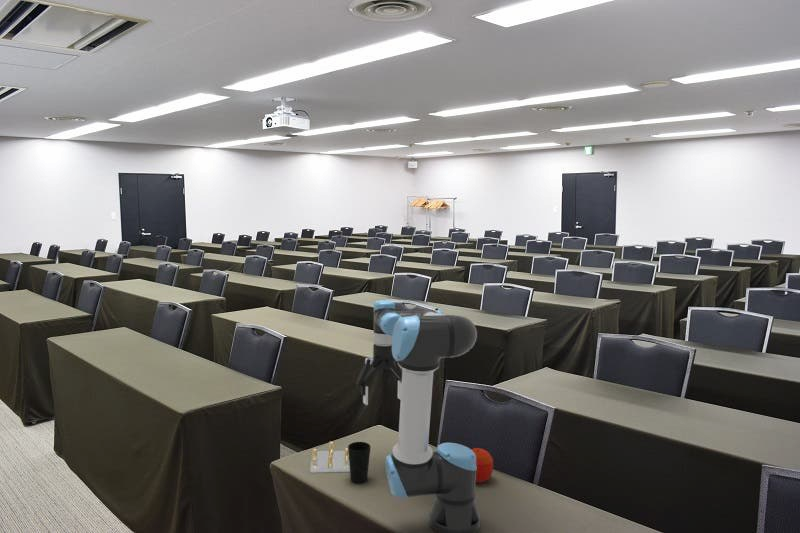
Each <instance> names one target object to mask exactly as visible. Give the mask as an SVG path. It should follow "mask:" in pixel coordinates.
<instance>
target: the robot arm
mask: <svg viewBox="0 0 800 533" xmlns="http://www.w3.org/2000/svg"><path fill="white" fill-rule="evenodd" d="M477 338H478V331H477V328H476V325H475V323H474V322H473V321H472V320H470V319H469V318H468V317H465V316H462V315H455V314H445V315H444V313H443V312H442V310H434V309H431V310H404V311H403V310H401V311H398V310H397V311H396V303H395V302H394V301H393V300H386V299H381V300H376V301H375V302H374V304H373V346H372V348H373V350H372V352H373V353H372V354H373V356H372V358H368V357H365V358H364V362H363V366H362V367H361V370H360V372H359V375H358V377H357V378H356V380H355V384H356V385H357V386H359V387H360V395H362V403H363V404H364V405H365V406H368V405H369V386H368V385H369V383H370V381H371V380H372V379H373V377H374V376H375V374H376V373H378V372H379V370H380V371H385V370H389V369H391V371H392V372H393V373H394V374H395V376H396V377H397V378H398V379H399V380H397V399H399V400H400V403H399V404H400V406H399V407H400V408H399V421H398V422H399V423H398V439H397V443H396V444H394V446H393V447H392V453H391V454H389V455H386V456H385V459H384V460H385V461H384V462H385V469H386V470H385V472H386V479H387V483H388V487H389V490H390V493H391V495H392V496H393V497H395V498H399V499H400V498H407V499H408V498H410V497H411V498H412V497H420V496H421V497H422V496H428V495H429V496H430V495H435V498H434V500H433V503H432V506H431V507H430V510H429V514H428V515H429V516H428V521H429V522H428V523H429V525H430V527H431V528H432V530H434V531H435V533H477V532H478V531H479V530H480V528H481V515H480V512H479V508H478V505H477V501H476V485H477V483H476V470H477V466H476V455H475V453H474V452H473V451H472V450H471V448H470V447H468V446H465V445H463V444H460V443H456V442H442V443H441V444H438V446H437V448H436V451H433V449H432V447H431V446H429V439H430V438H429V437H430V425H431V424H430V423H431V413H432V412H431V410H432V400H433V399H432V398H433V397H432V396H433V383H434V372H435V371H436V370H438V369H439V368H440V364H441V359H446V358H447V359H449V358H456V357H460V356H462V355H465V354H466V353H468V352H470V350H471V349H473V347H474V346H475V344H476V342H477ZM394 362H397V365H398V366H399V369H400V371H401V373H400V371H399V369H397V368H396V366H395V365H394ZM371 365H372V366H371ZM370 366H371V369H370ZM369 369H370V370H369Z"/></svg>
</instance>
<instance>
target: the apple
mask: <svg viewBox="0 0 800 533" xmlns="http://www.w3.org/2000/svg"><path fill="white" fill-rule="evenodd" d="M470 449H471V448H470ZM471 450H472V451H473V452H474V453H475V455H476V466H477V470H476V484H481V483H485V482H486V481H487V480H489V479H490V478H491V477H492V474H493V470H494V459H493V457H492V456H491V453H490V452H489V451H487V450H485V449H483V448H479V447H474V448H472V449H471Z"/></svg>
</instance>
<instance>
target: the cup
mask: <svg viewBox="0 0 800 533" xmlns="http://www.w3.org/2000/svg"><path fill="white" fill-rule="evenodd" d="M347 447H348V453H349V465H350V472H349V476H350V482H351V483H352V484H356V485H359V484H360V485H361V484H364V483H366V482H367V480H368V473H369V465H370V457H371V456H370V455H371V445H370V444H369V443H368V442H366V441H365V442H364V441H354V442H351V443H350V444H348V446H347Z"/></svg>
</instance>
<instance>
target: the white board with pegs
mask: <svg viewBox="0 0 800 533" xmlns="http://www.w3.org/2000/svg"><path fill="white" fill-rule="evenodd" d="M328 443H329V444H328V448H329V449H328V450H318V449H317V448H315V447H313V448H312V451H311V452H312V453H311V459H310V466H309V473H310V474H311V473H312V474H313V473H315V474H316V473H350V465H349V453H348V446H347V447H344V450H334V444H335V443H334V440H333V441H332V440H330V441H329V442H328Z"/></svg>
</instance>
